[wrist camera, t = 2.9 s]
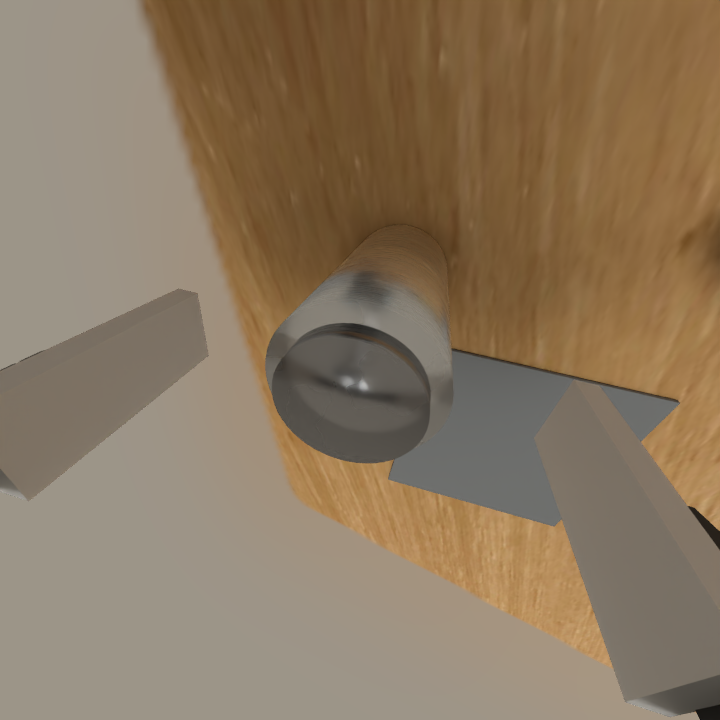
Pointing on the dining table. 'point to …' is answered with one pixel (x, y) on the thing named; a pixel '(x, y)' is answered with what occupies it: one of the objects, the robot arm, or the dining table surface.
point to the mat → (506, 436)
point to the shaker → (369, 352)
